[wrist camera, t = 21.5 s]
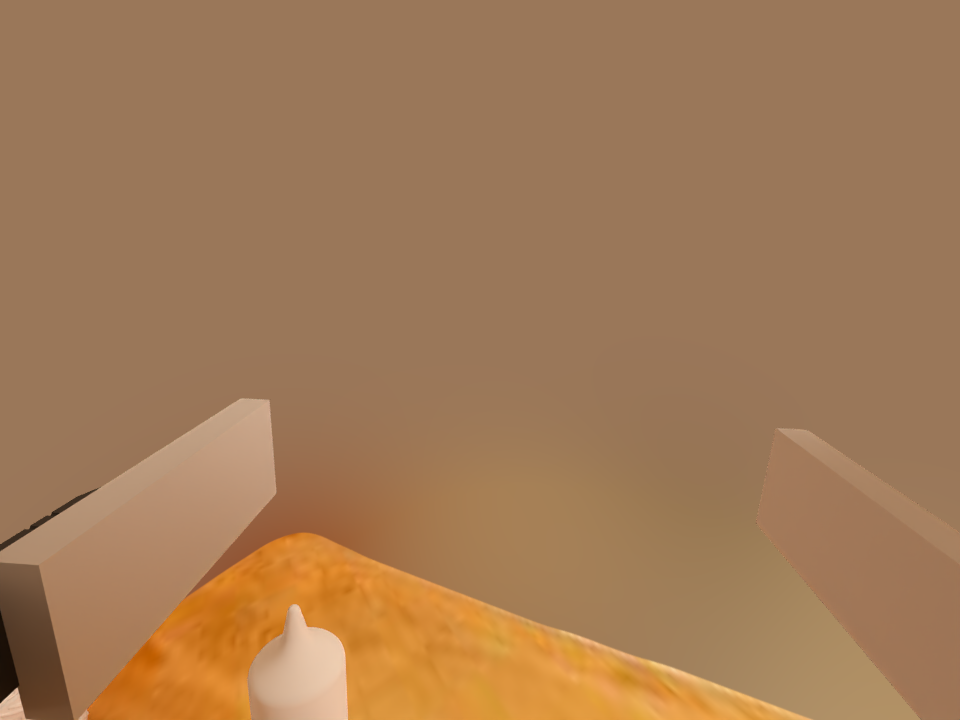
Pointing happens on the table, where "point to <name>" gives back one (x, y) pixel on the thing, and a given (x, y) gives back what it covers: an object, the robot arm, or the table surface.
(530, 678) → the table surface
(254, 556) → the table surface
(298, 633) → the candle
